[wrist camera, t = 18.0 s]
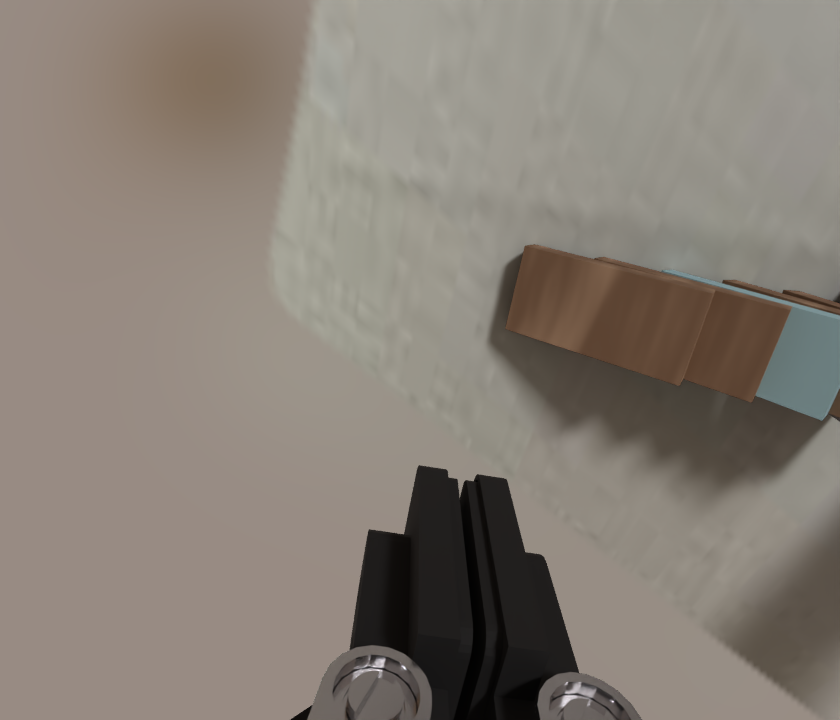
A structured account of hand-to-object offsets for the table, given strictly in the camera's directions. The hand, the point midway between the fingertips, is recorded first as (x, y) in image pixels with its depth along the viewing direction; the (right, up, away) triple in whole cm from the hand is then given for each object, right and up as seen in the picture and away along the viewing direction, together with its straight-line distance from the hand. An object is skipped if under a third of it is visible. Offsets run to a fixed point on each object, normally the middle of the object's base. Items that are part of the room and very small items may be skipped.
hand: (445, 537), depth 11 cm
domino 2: (+9, +7, +23) cm, 26 cm away
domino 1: (+5, +8, +23) cm, 25 cm away
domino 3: (+14, +6, +24) cm, 28 cm away
